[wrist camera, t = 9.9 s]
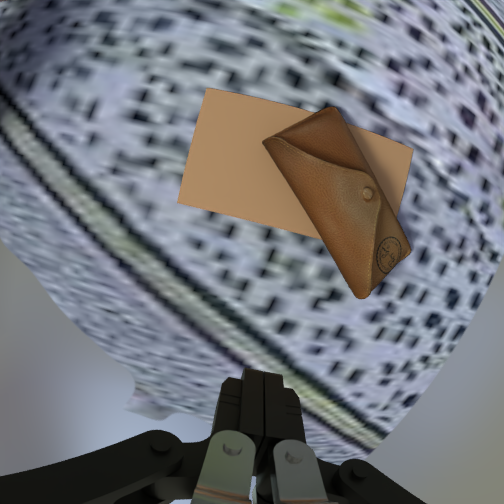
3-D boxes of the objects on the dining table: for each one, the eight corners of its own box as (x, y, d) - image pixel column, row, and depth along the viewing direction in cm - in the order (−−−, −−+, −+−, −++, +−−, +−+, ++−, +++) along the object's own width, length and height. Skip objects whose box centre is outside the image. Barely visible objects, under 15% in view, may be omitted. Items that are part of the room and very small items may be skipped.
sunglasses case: (417, 251, 30) (417, 286, 25) (363, 272, 34) (351, 307, 29) (332, 99, 27) (313, 100, 22) (278, 135, 31) (250, 145, 26)
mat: (207, 88, 27) (206, 87, 27) (411, 149, 28) (413, 149, 28) (177, 202, 30) (177, 202, 30) (383, 256, 31) (384, 257, 30)
